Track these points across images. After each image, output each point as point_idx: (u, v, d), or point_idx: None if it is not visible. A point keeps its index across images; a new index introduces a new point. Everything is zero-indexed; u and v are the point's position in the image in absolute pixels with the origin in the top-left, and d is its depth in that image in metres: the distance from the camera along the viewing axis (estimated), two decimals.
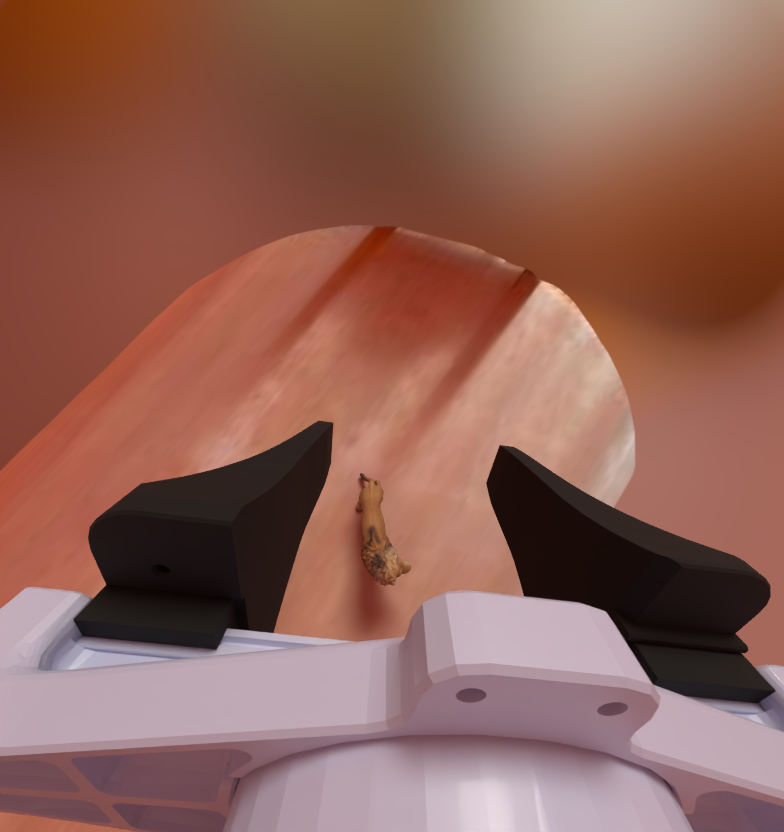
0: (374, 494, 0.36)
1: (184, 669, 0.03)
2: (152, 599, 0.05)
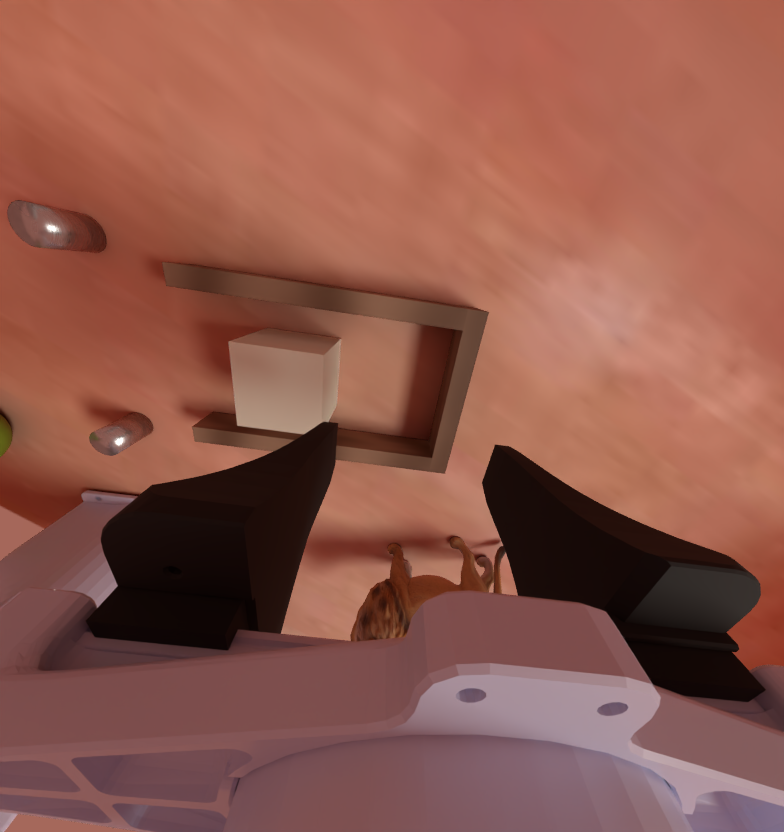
0: None
1: (184, 669, 0.03)
2: (163, 600, 0.05)
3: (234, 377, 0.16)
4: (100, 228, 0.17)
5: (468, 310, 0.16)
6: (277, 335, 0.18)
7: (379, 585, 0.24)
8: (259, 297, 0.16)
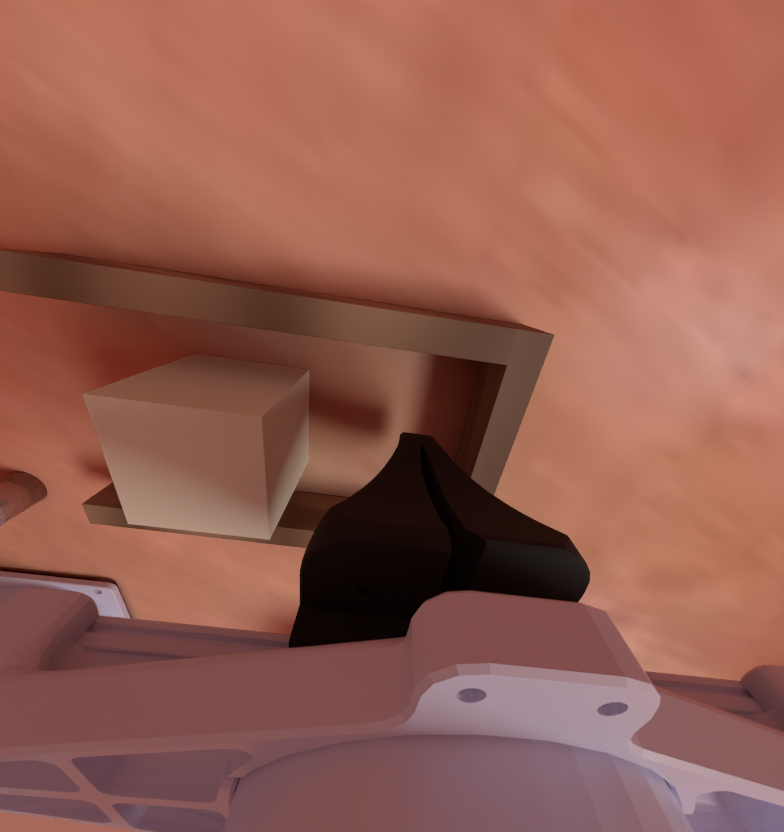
0: None
1: (184, 669, 0.03)
2: (348, 620, 0.05)
3: (106, 452, 0.09)
4: None
5: (519, 332, 0.09)
6: (200, 370, 0.11)
7: None
8: (155, 309, 0.09)
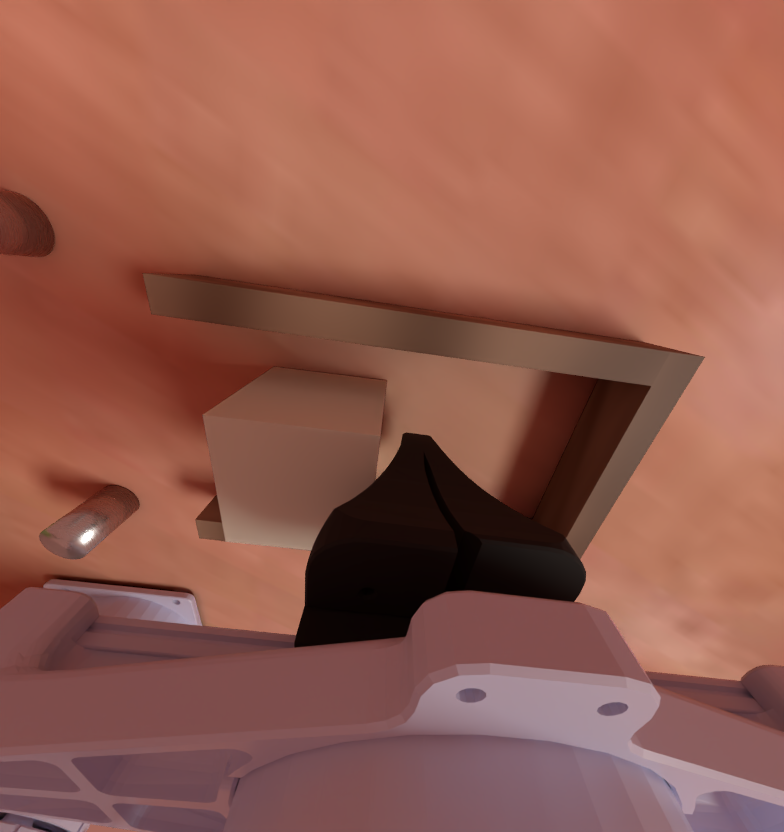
0: None
1: (184, 669, 0.03)
2: (353, 620, 0.05)
3: (217, 472, 0.09)
4: (42, 216, 0.10)
5: (670, 354, 0.09)
6: (290, 385, 0.11)
7: None
8: (312, 333, 0.09)
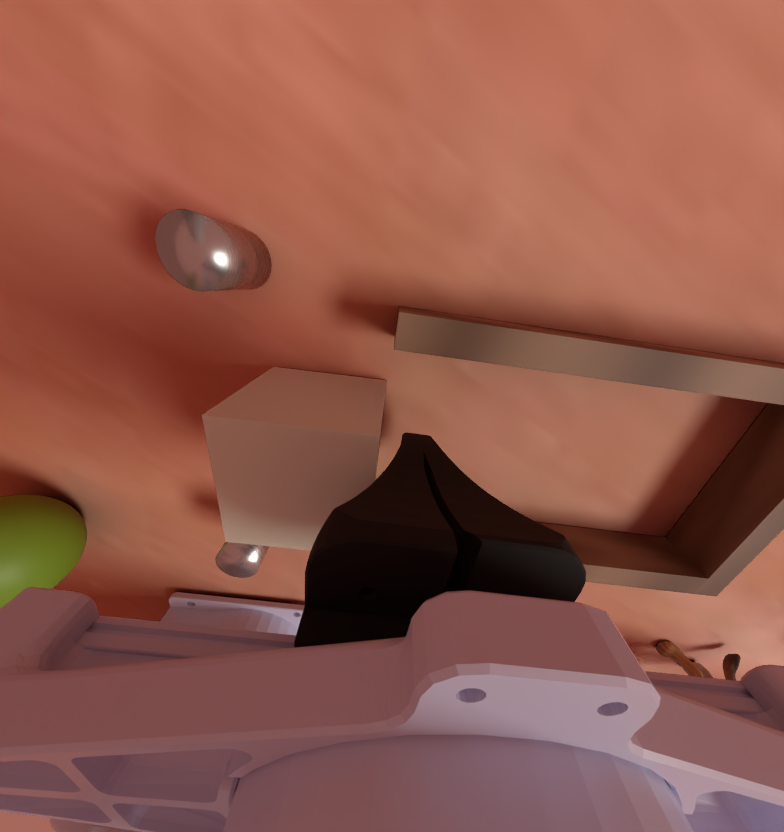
0: None
1: (184, 669, 0.03)
2: (353, 620, 0.05)
3: (216, 472, 0.09)
4: (267, 252, 0.10)
5: None
6: (289, 385, 0.11)
7: None
8: (545, 367, 0.10)
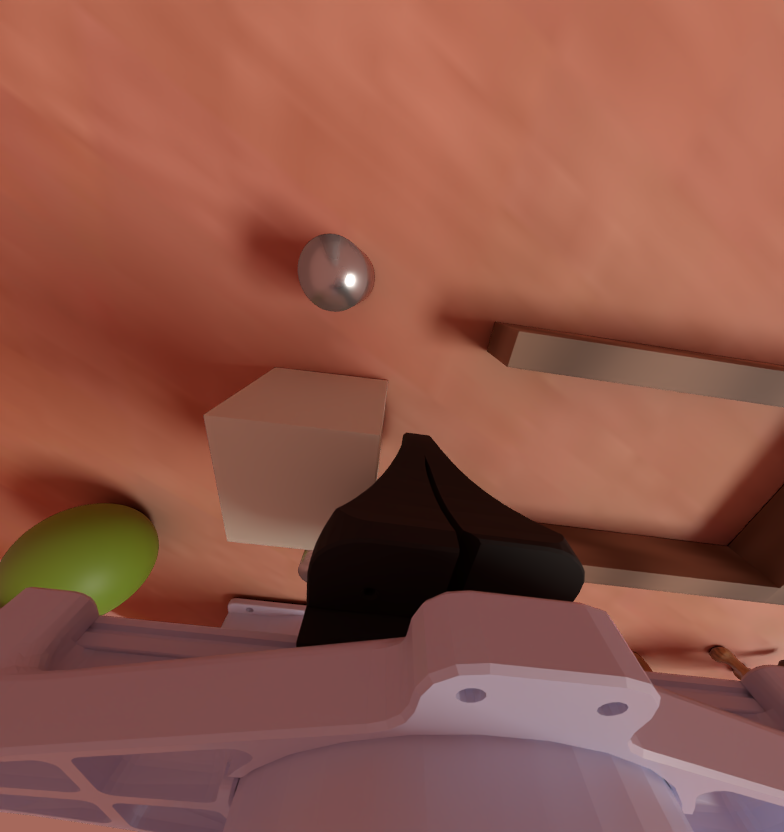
0: None
1: (184, 669, 0.03)
2: (355, 620, 0.05)
3: (218, 472, 0.09)
4: (373, 269, 0.11)
5: None
6: (290, 385, 0.11)
7: None
8: (653, 384, 0.10)
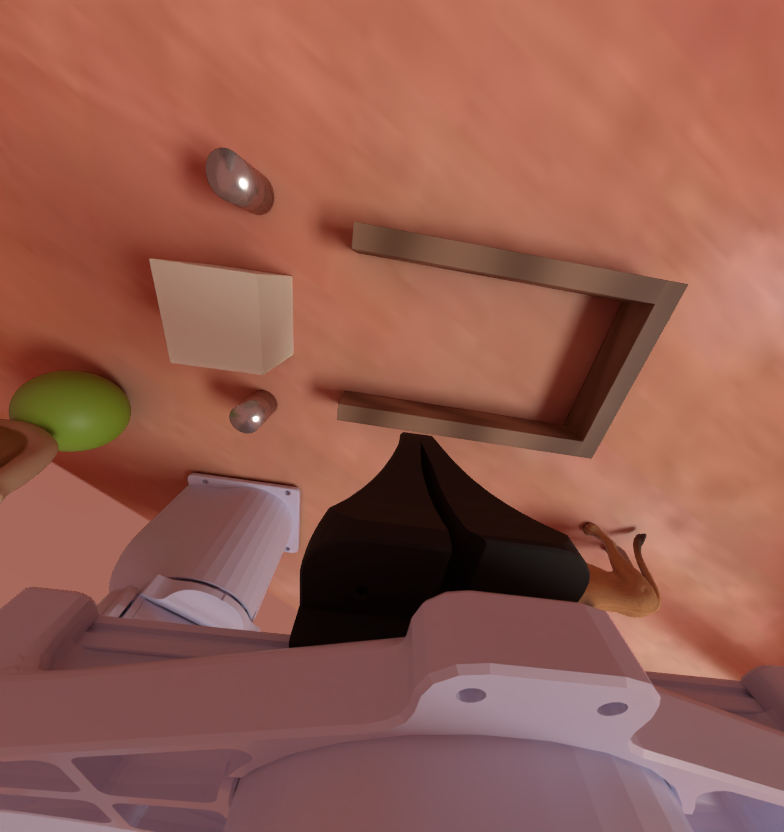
0: None
1: (184, 669, 0.03)
2: (348, 620, 0.05)
3: (160, 303, 0.14)
4: (271, 187, 0.16)
5: (667, 281, 0.15)
6: None
7: None
8: (448, 263, 0.15)
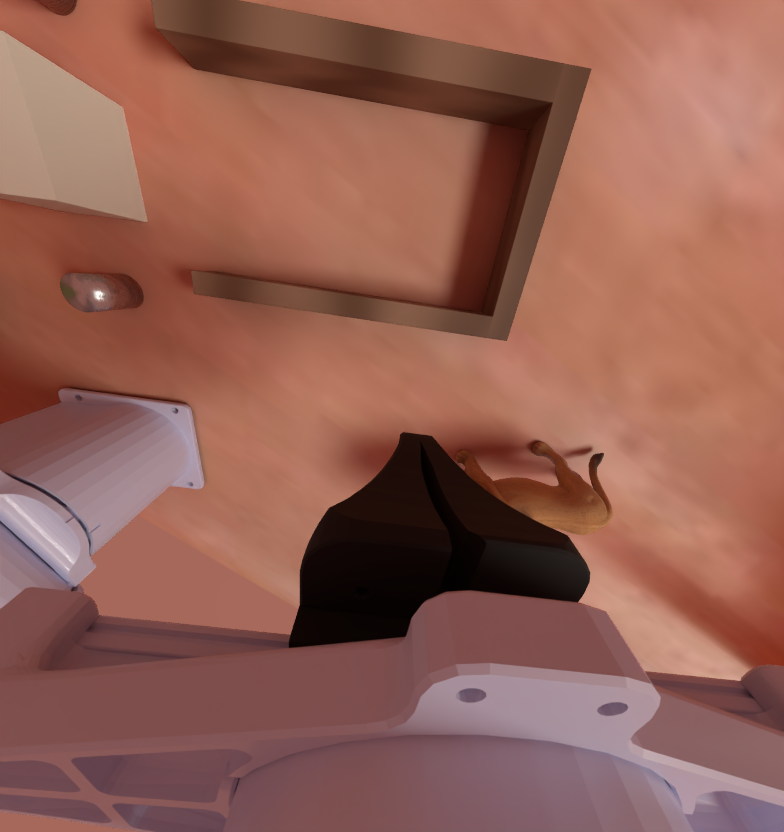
0: (591, 530, 0.18)
1: (184, 669, 0.03)
2: (348, 620, 0.05)
3: None
4: None
5: (564, 65, 0.12)
6: None
7: None
8: (281, 46, 0.12)
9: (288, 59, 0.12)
